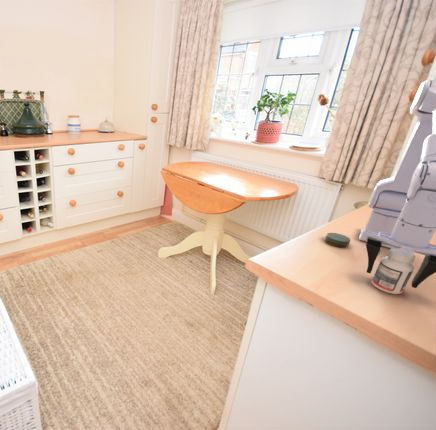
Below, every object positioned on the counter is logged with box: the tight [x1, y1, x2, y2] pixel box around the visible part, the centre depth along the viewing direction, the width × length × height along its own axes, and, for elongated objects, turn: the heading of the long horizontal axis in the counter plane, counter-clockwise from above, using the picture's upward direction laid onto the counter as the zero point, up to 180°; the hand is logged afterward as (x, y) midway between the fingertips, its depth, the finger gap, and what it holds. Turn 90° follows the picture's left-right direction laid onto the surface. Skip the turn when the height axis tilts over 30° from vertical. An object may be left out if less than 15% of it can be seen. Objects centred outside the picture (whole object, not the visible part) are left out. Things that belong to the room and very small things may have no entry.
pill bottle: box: [371, 247, 416, 295], centre depth 63 cm, size 5×5×9 cm
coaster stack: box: [324, 232, 351, 249], centre depth 83 cm, size 6×6×2 cm
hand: (390, 278), depth 64 cm, fingers open, 7 cm apart
